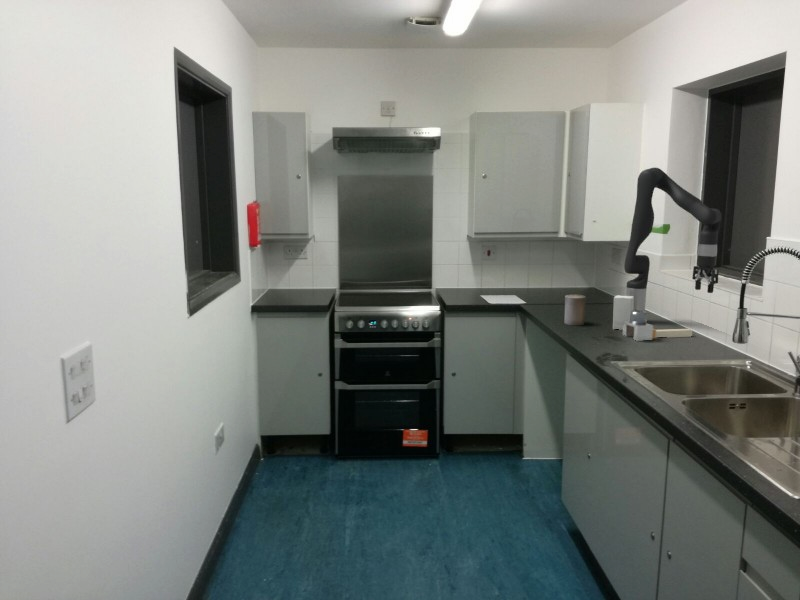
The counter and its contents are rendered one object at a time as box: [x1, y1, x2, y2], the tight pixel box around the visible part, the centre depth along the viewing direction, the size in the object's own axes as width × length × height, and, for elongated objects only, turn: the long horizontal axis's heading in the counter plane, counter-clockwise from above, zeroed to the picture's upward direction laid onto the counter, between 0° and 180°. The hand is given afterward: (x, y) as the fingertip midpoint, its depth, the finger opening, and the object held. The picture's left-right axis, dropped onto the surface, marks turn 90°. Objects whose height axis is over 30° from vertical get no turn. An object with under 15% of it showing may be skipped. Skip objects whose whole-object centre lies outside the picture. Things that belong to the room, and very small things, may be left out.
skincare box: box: [612, 294, 634, 331], centre depth 278 cm, size 8×7×16 cm
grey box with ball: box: [622, 310, 654, 342], centre depth 262 cm, size 12×7×12 cm, turn 9°
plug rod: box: [652, 328, 693, 339], centre depth 265 cm, size 4×23×4 cm, turn 99°
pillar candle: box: [563, 294, 587, 327], centre depth 291 cm, size 10×10×15 cm
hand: (703, 291), depth 264 cm, fingers open, 8 cm apart
